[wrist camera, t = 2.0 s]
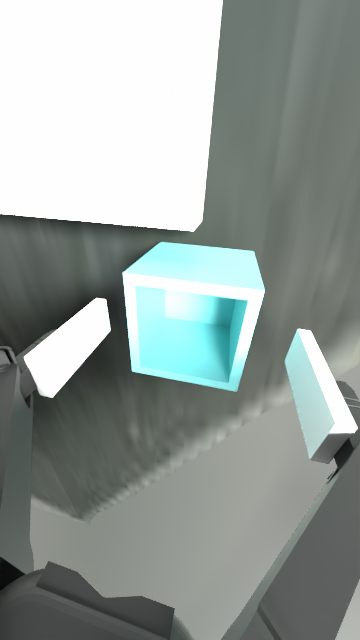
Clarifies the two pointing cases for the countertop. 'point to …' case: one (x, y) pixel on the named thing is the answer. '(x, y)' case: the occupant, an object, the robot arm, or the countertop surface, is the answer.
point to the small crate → (192, 312)
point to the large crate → (107, 109)
